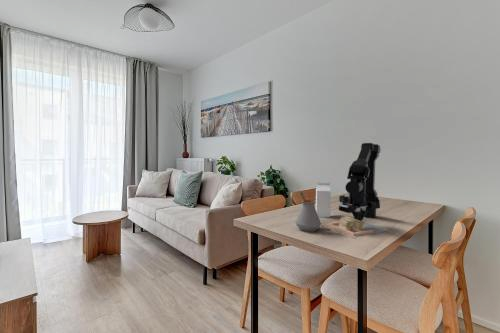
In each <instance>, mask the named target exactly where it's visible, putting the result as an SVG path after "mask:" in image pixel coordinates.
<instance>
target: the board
mask: <svg viewBox="0 0 500 333" xmlns="http://www.w3.org/2000/svg"><path fill="white" fill-rule="evenodd" d="M325 226H327V227H325V228H327V229H328V227H329V228H330V230H331V231H333V230H337V231H338V233H339V234H341V232H342V233H343V235H344V236H346V235H348V237H350V238H352V239H354V237H355V238H357V237H358V238H359V237H363V236H368V235H373V234H378V233H383V232H387V231H389V229H388V228H384V227H381V226H378V225H374V224H372V223H369V222H365V231H360V232H356V231H353V230H351V231H348V230H346V229H343V228H340V227H339V221H334V222H328V223H327V224H325ZM331 228H332V229H331ZM339 231H340V232H339ZM344 233H345V234H344ZM349 235H351V236H349ZM352 236H353V237H352Z"/></svg>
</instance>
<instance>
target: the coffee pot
mask: <svg viewBox="0 0 500 333" xmlns="http://www.w3.org/2000/svg"><path fill="white" fill-rule="evenodd" d="M299 195H300V197H301V199H302V200H301V201H300V202H301V203H302V206H301V209H300V211H299V214H298V215H297V218H296V220H295V225H296V226H297V227H298V229H299V230H301V231H304V232H316V231H317V230H318V229H319V228H320V227H321V225H322V222H321V220H320V218H319V217H318V215H317V212H316V200H311V199H309V200H308V199H305V196H304V194H303V192H302V191H300V192H299Z"/></svg>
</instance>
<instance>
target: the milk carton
mask: <svg viewBox="0 0 500 333" xmlns="http://www.w3.org/2000/svg"><path fill="white" fill-rule="evenodd" d="M331 195H332V189H331V182H321V181H319V182H318V181H317V182H316V185H315V201H316V203H315V210H316V212H317V215H318V217H319V219H322V218H330V217H331V201H332V200H331V197H332V196H331Z"/></svg>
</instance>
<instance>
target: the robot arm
mask: <svg viewBox="0 0 500 333" xmlns="http://www.w3.org/2000/svg"><path fill="white" fill-rule="evenodd" d="M380 154H381V146H380V145H379V144H377V143H372V142H363V143H361V146H360V151H359V154H358V157H357V159H356V160H354V161H353V162H352V163H351V165H350V166H349V169H348V174H347V177H346V178H347V180H350V181H348V182H347V183H346V184H345V188H344V189H345V191H346V193H347V194H348V195H347V196H346V195H343V194H342V195H339V200H338V201H339V202H340V204H339V206H338V211H339V212H343V213H348V214H352V216H353V219H357V220H360V221H363V220H364V218H365V219H366V218H367V219H375V218H376V217H377V210H378V209H380V208H381V202H380V199H379V196H378V192H377V190H376V189H375V182H376V181H375V179H376V178H375V177H376V161H377V159H378V158H379V157H380Z"/></svg>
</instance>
